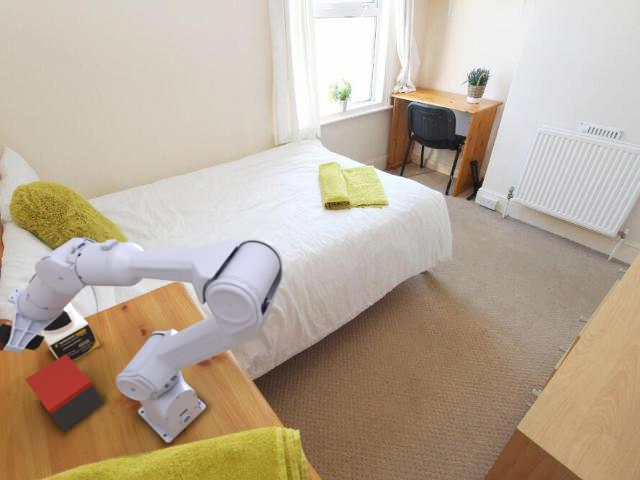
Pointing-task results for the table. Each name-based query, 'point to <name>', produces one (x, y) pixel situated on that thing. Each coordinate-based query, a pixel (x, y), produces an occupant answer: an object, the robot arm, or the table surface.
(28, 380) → the grey and red box
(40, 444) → the table surface
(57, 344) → the medicine bottle
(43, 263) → the robot arm
